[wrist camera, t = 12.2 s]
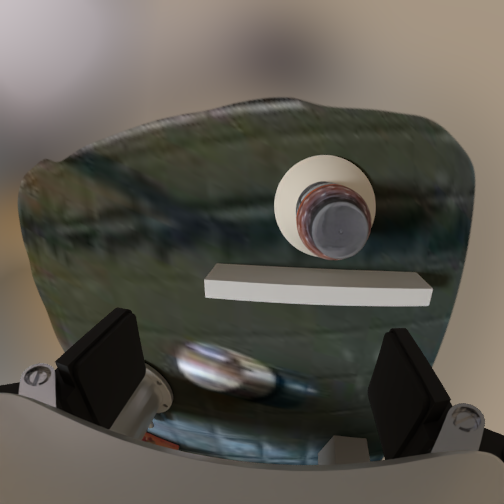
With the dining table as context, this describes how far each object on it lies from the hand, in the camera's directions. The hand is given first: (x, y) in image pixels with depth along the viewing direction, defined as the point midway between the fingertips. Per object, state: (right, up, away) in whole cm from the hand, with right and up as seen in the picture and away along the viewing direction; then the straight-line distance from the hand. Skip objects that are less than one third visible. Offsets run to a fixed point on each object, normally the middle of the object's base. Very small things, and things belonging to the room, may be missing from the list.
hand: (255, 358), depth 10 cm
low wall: (+8, +1, +22) cm, 23 cm away
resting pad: (+8, +9, +20) cm, 23 cm away
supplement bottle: (+7, +8, +19) cm, 22 cm away
